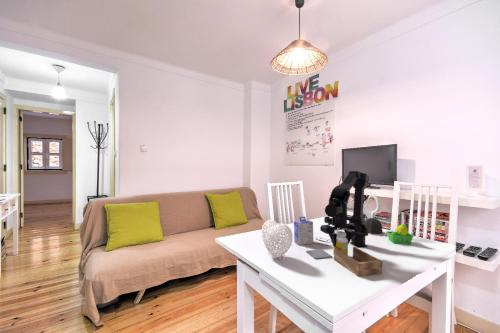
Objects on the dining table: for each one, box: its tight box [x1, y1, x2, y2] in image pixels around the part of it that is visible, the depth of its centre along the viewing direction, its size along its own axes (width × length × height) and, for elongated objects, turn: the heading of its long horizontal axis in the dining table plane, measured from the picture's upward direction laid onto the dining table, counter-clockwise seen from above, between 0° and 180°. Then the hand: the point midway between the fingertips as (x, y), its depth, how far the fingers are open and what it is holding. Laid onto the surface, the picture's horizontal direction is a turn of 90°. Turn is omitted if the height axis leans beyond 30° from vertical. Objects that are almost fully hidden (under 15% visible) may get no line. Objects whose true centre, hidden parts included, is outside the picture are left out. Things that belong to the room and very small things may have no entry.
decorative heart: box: [261, 219, 294, 262], centre depth 106 cm, size 18×11×17 cm, turn 35°
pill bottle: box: [332, 230, 349, 256], centre depth 108 cm, size 6×6×12 cm
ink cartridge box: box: [293, 216, 314, 246], centre depth 127 cm, size 10×6×14 cm, turn 108°
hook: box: [365, 194, 384, 236], centre depth 146 cm, size 11×11×25 cm
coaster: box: [305, 248, 333, 260], centre depth 110 cm, size 9×9×1 cm
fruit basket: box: [386, 223, 414, 245], centre depth 128 cm, size 11×9×11 cm
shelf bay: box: [333, 246, 383, 277], centre depth 98 cm, size 11×16×5 cm
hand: (340, 246), depth 108 cm, fingers closed on pill bottle, 6 cm apart
